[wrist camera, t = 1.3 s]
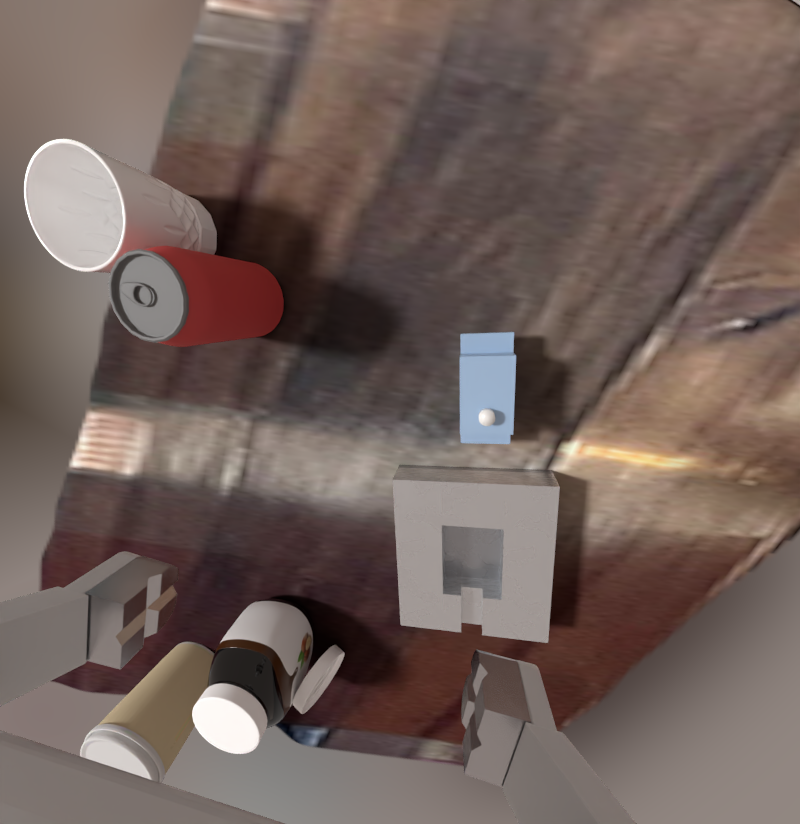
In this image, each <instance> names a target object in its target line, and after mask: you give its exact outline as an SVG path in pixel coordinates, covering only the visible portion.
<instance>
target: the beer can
mask: <svg viewBox="0 0 800 824" xmlns="http://www.w3.org/2000/svg"><path fill="white" fill-rule="evenodd" d="M108 284H109V297H110V300H111V304H112V307H113V310H114V312H115V313H116V315H117V317H118V318H119V320H120V322H121V323H122V324H123V325H124V326H125V327H126V328H127V329H128V330H129V331H130V332H131V333H132V334H133V335H135V336H137V337H138V338H140V339H142V340H145V341H150V342H154V343H156V342H158V343H162V344H166V345H171V346H177V347H186V346H193V345H201V344H208V343H215V342H223V341H230V340H237V339H245V338H252V337H259V336H264V335H266V334H268V333H269V332H271V331H273V329H274V328H275V327H276V326H277V325H278V323H279V322H280V319H281V316H282V314H283V306H284V299H283V295H282V290H281V288H280V286H279V284H278V282H277V280H276V278H275V277H274V276H273V275H272V274H271V273H270V272H269V271H268V270H267V269H266V268H264V267H262V266H261V265H259V264H257V263H252V262H247V261H242V260H237V259H232V258H227V257H222V256H217V255H212V254H208V253H203V252H198V251H193V250H188V249H183V248H178V247H172V246H157V247H152V248H148V249H144V250H142V249H136V250H132V251H128V252H126V253H125V254H123V255H122V256H121V257H119V258H118V259H117V261H116V262H115V264H114V266H113V267H112V269H111V273H110V278H109V283H108Z"/></svg>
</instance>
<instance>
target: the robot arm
mask: <svg viewBox="0 0 800 824" xmlns="http://www.w3.org/2000/svg"><path fill="white" fill-rule="evenodd" d="M793 1H794V2H796V3H797V4H798V5H800V0H793ZM178 571H179V569H178V568H177V567H176V566H173V565H170V564H167V563H164V562H160V561H157V560H154V559H151V558H147V557H144V556H139V555H136V554H133V553H130V552H126V551H125V552H120V553H118V554H116V555H115V556H113V557H111V558H110V559H108V560H107V561H105V562H104V563H102V564H101V565H99V566H97V567H96V568H94V569H93V570H91V571H90V572H88V573H86V574H85V575H83V576H82V577H80V578H79V579H77V580H76V581H74V582H72V583H71V584H69V585H68V586H66V587H65V588H61V587H55V588H51V589H47V590H44V591H40V592H36V593H33V594H29V595H26V596H22V597H18V598H15V599H11V600H7V601H4V602H0V706H2V705H4V704H6V703H8V702H10V701H12V700H14V699H16V698H18V697H20V696H22V695H24V694H26V693H28V692H30V691H32V690H34V689H36V688H38V687H39V686H41V685H44V684H45V683H47V682H49V681H51V680H53V679H55V678H57V677H59V676H61V675H63V674H65V673H67V672H69V671H71V670H73V669H75V668H77V667H79V666H81V665H83V664H85V663H86V661H90V662H94V663H98V664H102V665H105V666H109V667H113V668H117V669H121V668H122V667H123V666H124V665H125V664H126V663H127V662H128V661H129V660H130V659H131V658H132V657H133V656H134V655H135V654H136V653H137V652H138V651H139V650H140V649H141V648H142V647H143V643H144V638H145V637H148V636H150V635H152V634H155V633H157V632H158V631H159V630H160V629H161V628H162V627H163V626H164V625H165V624H166V622H167V620H168V619H169V617H170V615H171V614H172V612H173V610H174V607H175V604H176V597H177V594H176V592H175V590H174V588H173V586H172V585H173V584H174V583H175V582H176V581H177V580H178ZM471 667H472V673H471V674H470V675H468V676H467V678H466V681H465V685H464V690H463V696H462V723H463V725H464V726H465V728H466V733H465V736H464V739H463V758H464V774H465V775H468V776H471V777H474V778H477V779H480V780H483V781H486V782H489V783H492V784H494V785H497V786H501V787H503V788H502V790H503V793H504V795H505V797H506V798H507V801H508V803H509V805H510V807H511V809H512V811H513V813H514V815H515V817H516V819H517V821H518V823H519V824H636V822H635V821H634V820H633V819H632V817H631V816H630V815H629V814H628V813H627V811H626V810H625V809H624V808H623V806H622V805H621V804H620V803H619V801H618V800H617V799H616V798H615V796H614V795H613V794H612V793H611V791H610V790H609V789H608V788H607V787H606V785H605V784H604V783H603V782H602V780H601V779H600V778H599V777H598V775H597V774H596V773H595V772H594V770H593V769H592V768H591V767H590V765H589V764H588V763H587V762H586V761H585V759H584V758H583V757H582V756H581V754H580V753H579V752H578V751H577V749H576V748H575V747H574V746H573V744H572V743H571V742H570V741H569V740H568V738H567V737H566V736H565V735H564V733H561V732H558V731H557V730H556V726H555V723H554V720H553V716H552V713H551V709H550V706H549V703H548V699H547V696H546V692H545V689H544V686H543V682H542V679H541V675H540V672H539V669H538V667H537V666H536V665H534V664H530V663H526V662H523V661H519V660H513V659H510V658H506V657H502V656H499V655H495V654H491V653H487V652H484V651H480V650H476V651H475V652H474V655H473V658H472V661H471ZM0 824H284V823H281V822H278V821H275V820H272V819H269V818H266V817H263V816H260V815H256V814H254V813H251V812H247V811H245V810H241V809H239V808H236V807H232V806H229V805H226V804H223V803H220V802H217V801H214V800H211V799H208V798H205V797H202V796H199V795H196V794H193V793H190V792H187V791H184V790H181V789H178V788H175V787H172V786H169V785H166V784H163V783H159V782H156V781H153V780H150V779H147V778H144V777H141V776H138V775H135V774H132V773H129V772H126V771H123V770H120V769H117V768H114V767H111V766H108V765H105V764H102V763H99V762H95V761H92V760H89V759H86V758H83V757H80V756H77V755H74V754H71V753H68V752H65V751H62V750H58V749H56V748H53V747H50V746H46V745H44V744H40V743H37V742H34V741H31V740H28V739H25V738H22V737H19V736H16V735H13V734H10V733H7V732H4V731H1V730H0Z"/></svg>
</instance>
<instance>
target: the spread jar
mask: <svg viewBox="0 0 800 824" xmlns="http://www.w3.org/2000/svg"><path fill="white" fill-rule="evenodd" d="M313 645H314V626H313V622H312V620H311V618H310V616H309V614H308V613H307V612H306V611H305V610H304V609H303V608H302V607H301V606H299V605H297V604H296V603H293V602H291V601H288V600H284V599H265V600H260V601H257V602H254V603H252V604H251V605H249V606H248V607H247V608H246V609H245V610H244V611H243V612H242V614H241V615H240V616H239V617H238V619H237V620H236V621H235V623H234V624H233V625H232V627H231V628H230V629H229V631H228V632H227V633H226V635H225V636H224V637H223V639H222V641H221V642H220V644H219V645H218V647H217V650H216V652H215V654H214V656H213V659H212V663H211V666H210V671H209V676H208V683H207V689H206V690H205V691H204V693H203V694H202V695H201V697H200V698H199V700H198V701H197V703H196V704H195V705H194V707H193V710H192V717H193V722H194V724H195V727H196V728H197V730H198V732H199V733H200V734H201V735H202V736H203V737H204V738H205V739H206V740H207V741H208V742H209V743H211V744H212V745H213V746H215V747H217V748H219V749H221V750H224V751H226V752H230V753H234V754H245V753H248V752H251V751H252V750H254V749H255V748H256V747H257V746H258V744H259V742H260V739H261V738H262V735H263V734H264V731H265V729H267V728H269V727H272V726H274V725H276V724H277V723H279V722H280V721H281V720H282V719H283V718H284V717H285V715H286V714H287V712H288V710H289V709H290V707H291V705H292V703H293V706H294V707H295V708H296V709H297V710H298V711H299V712H300V713H301V714H304V713H305V712H307V711H308V710H309V709H310V708H311V707H312V705H313V704H314V703H315V702H316V701H317V700H318V698H319V697H320V696H321V694H322V693H323V692H324V690H325V689H326V688H327V686H328V685H329V683H330V682H331V680H332V679H333V677H334V675H335V674H336V672H337V670H338V669H339V667H340V665H341V663H342V661H343V658H344V655H345V653H344V652H343V651H342V650H341V649H340V648H339V647H338V646H337V645H333V646H331V647H330V648H329V649H328V650H327V651H326V652H325V653H324V654H323V655H322V656H321V657H320V658H319V660H318V661H317V662H316V663H315V665H314V666H313V667H312V669H311V670H310V671H309V673H308V674H307V676H306V677H305V679H304V676H305V674H306V672H307V669H308V667H309V663H310V660H311V656H312V651H313ZM303 679H304V680H303ZM302 681H303V682H302Z"/></svg>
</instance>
